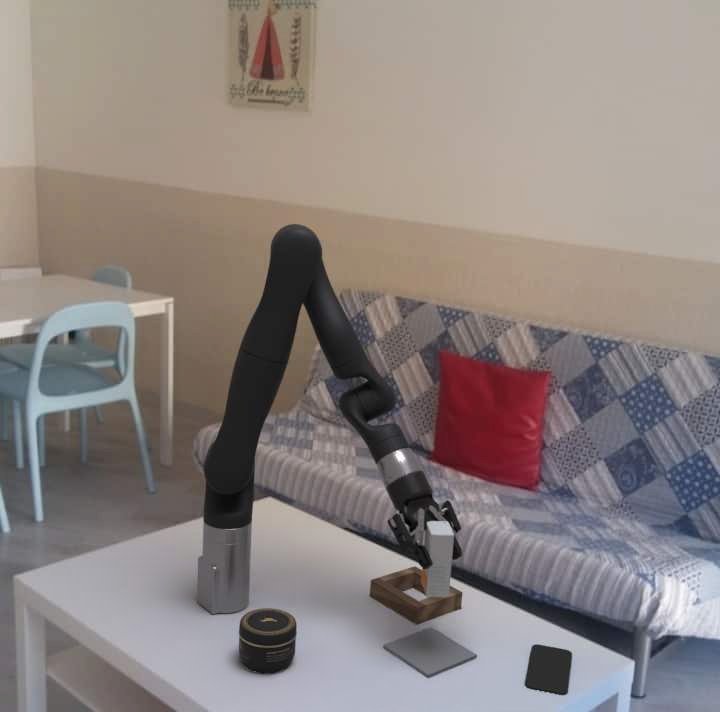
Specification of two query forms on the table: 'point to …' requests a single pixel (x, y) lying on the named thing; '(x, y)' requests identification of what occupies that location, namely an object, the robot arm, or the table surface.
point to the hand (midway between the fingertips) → (443, 562)
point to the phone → (548, 669)
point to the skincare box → (438, 558)
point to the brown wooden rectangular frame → (410, 608)
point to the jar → (267, 640)
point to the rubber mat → (429, 652)
